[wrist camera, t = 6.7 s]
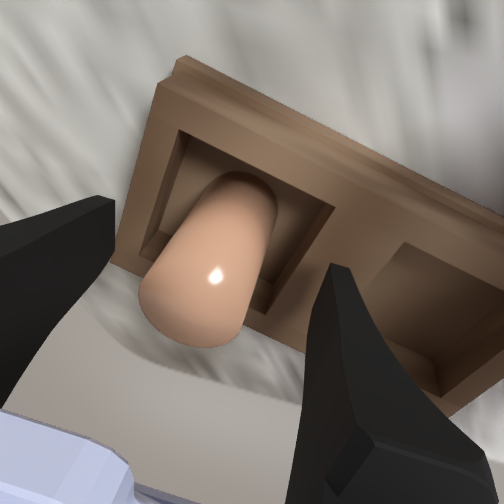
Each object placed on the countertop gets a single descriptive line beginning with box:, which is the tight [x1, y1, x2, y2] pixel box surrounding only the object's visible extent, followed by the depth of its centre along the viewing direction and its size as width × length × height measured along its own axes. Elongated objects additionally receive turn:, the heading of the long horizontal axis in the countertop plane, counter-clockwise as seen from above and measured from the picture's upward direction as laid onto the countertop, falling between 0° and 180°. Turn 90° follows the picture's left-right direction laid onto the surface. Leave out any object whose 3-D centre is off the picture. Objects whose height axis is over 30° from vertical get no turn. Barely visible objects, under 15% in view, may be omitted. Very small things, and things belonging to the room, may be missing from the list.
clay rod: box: [138, 171, 278, 348], centre depth 14 cm, size 3×3×6 cm
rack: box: [110, 55, 504, 418], centre depth 16 cm, size 16×8×3 cm, turn 66°
